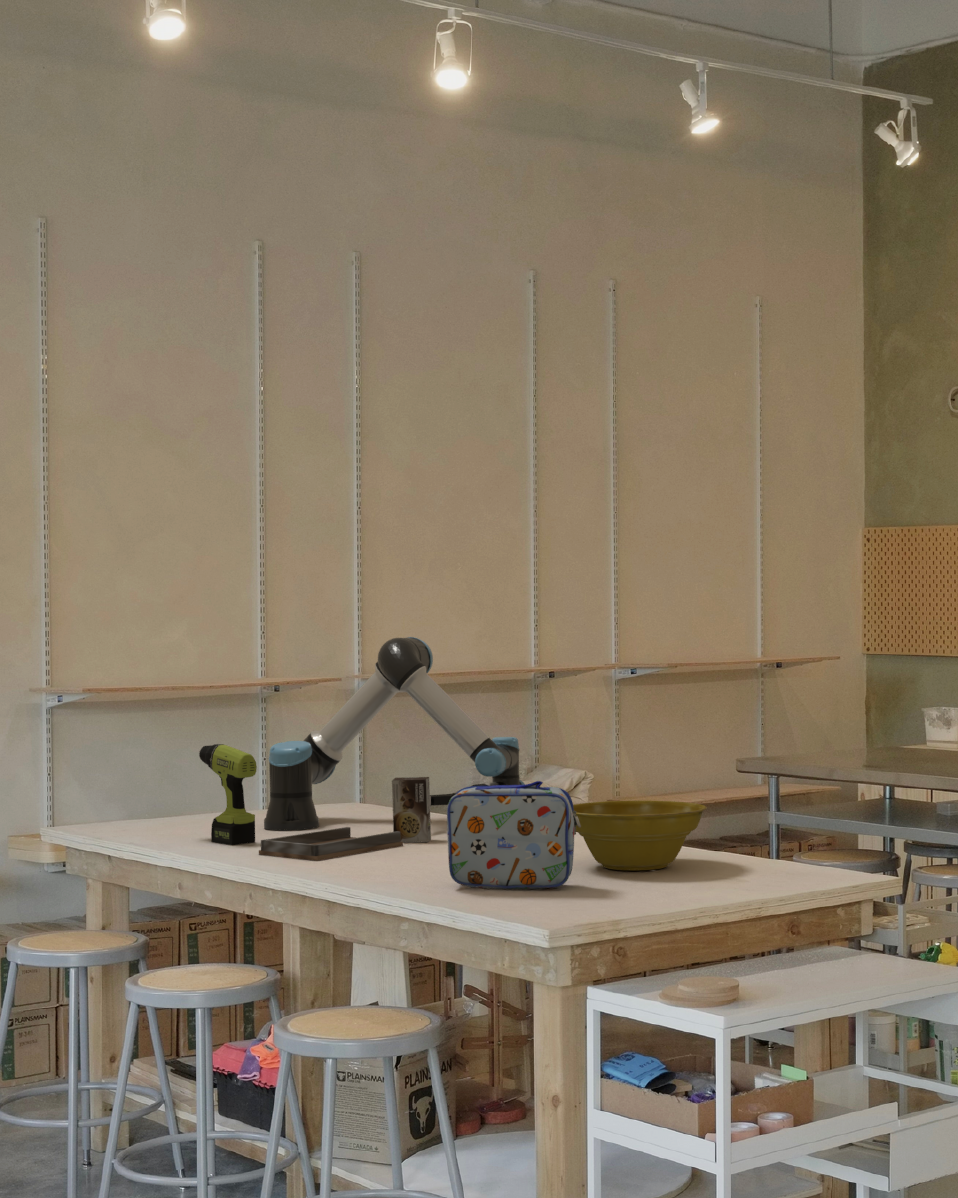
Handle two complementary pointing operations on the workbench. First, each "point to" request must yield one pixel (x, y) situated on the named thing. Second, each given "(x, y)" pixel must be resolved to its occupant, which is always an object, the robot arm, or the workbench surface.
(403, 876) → the workbench surface
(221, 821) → the cordless drill
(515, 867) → the lunch box
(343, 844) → the brown tray
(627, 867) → the planter bowl
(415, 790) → the coffee box
